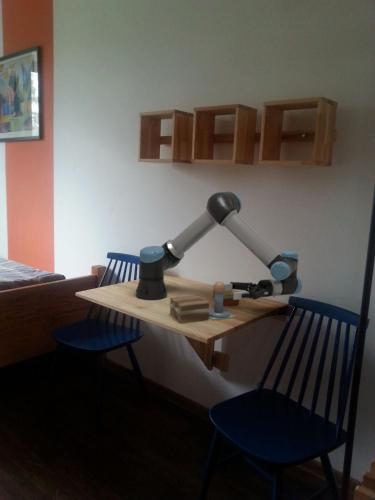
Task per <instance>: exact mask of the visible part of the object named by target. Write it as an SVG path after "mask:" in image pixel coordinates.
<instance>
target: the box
mask: <svg viewBox="0 0 375 500" xmlns="http://www.w3.org/2000/svg"><path fill="white" fill-rule="evenodd" d="M169 307H170V308H169V314H170V315H171V316H172V317H173V318H174V319H175V320H176V321H178V323H180V324H186V323H194V322H195V323H196V322H203V321H204V322H205V321H209V319H210V318H209V309H210V303H209V302H208V301H206V300H205V299H204V298H201V297H200V296H198V295H188V296H178V297H176V296H175V297H170V302H169Z"/></svg>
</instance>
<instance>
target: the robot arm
mask: <svg viewBox="0 0 375 500" xmlns="http://www.w3.org/2000/svg"><path fill="white" fill-rule="evenodd" d="M241 209H242V200H241V197H240V196H239V195H238V194H237V193H235V192H233V191H223V192H222V191H221V192H215V193H213V194H211V196H210V197H209V198H208V200H207V202H206V206H205V211H204V212H203V213H202V214H200V215H199V216H198V217H197V218H196V219H195V220H194V221H193V222H192V223H190V224H189V225H188V226H187V227H186V228H185V229H183V230H182V232H180V233H179V234H178V235H177V236H176V237H174V238H173V239H168V240H167V241H166V242H164V243H163V244H162V245H161V246H160V245H150V246H145V247H142V248H141V249H140V251H139V256H138V258H139V280H138V284H137V287H136V290H135V297H136V298H138V299H140V300H141V299H142V300H147V301H153V300H154V301H155V300H162V299H165V298H167V297H168V289H167V285H166V283H165V279H164V278H165V271H167V270H169V269H173V268H175V267H177V265H179V263H180V262H181V260H182V259H184V257H185V253H186V252H187V251H189V250H190V249H191V248H192V247H194V246H195V244H197V243H198V242H199V241H200V240H201V239H203V238H204V237H205V236H206V235H207V234H208V233H209V232H211V231H212V230H213V229H214V228H215V227H217V226H218V225H219V226H221V227H225V228H226V229H227V231H228V232H230V233H231V234H232V235H233V236H234V237H235V238H236V239H237V240H238V241H239V242H240V244H242V245H243V246H245V248H247V249H248V250H249V252H250V253H252V254H253V256H255V257H256V259H258V260H259V261H260V262H261V263H262V264H263V265H264V266H265V267H266V268H267V269H268V270H269V271H270V275H271V277H272V278H269V279H268V278H267V279H260V280H259V281H258V282H257V283H253V282H240V281H239V282H238V281H236V282H235V281H230V282H229V283H225V284H224V285H225V291H226V290H231V291H232V292H233V290H236V292H233V299H234V300H236V299H239V300H242V299H243V300H245V299H250V300H251V299H252V300H254V301H255V300H258V299H261V298H267V297H270V298H271V297H273V298H275V297H276V296H277V297H278V296H292V295H296V294H299V293H300V292H301V291H302V289H303V284H302V280H301V279H300V278H299V277H298V265H299V254H298V252H297V251H295V250H294V251H293V250H282V251H281V253H279V252H278V251H277V250H276V249H275V248H274V247H272V246H271V244H270V243H268V242H267V241H266V240H265V239H264V238H263V237H262V236H261V235H260V234H259V233H258V231H256V230H255V229H253V227H251V226H250V224H248V223H247V222H246V221H245V220H244V219H243V218H242V217H241V216H240V215H239V213H240V211H241ZM237 290H238V292H237Z"/></svg>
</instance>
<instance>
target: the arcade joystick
mask: <svg viewBox="0 0 375 500" xmlns="http://www.w3.org/2000/svg"><path fill="white" fill-rule="evenodd" d="M212 288H213V289H214V291H215V298H214V304H213V306H214V307H213V308H212V307H211V308H209V317H213V318H226V317H229V316H230V314H231V311H230V310H229V309H227V308H224V307H223V292H224V291H225V285H224V282H223V281H216V282H215V283H214V284H213V287H212Z"/></svg>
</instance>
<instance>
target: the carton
mask: <svg viewBox="0 0 375 500" xmlns="http://www.w3.org/2000/svg"><path fill="white" fill-rule="evenodd" d="M233 293H234V292H233V290H232V291H231V290H226V291H224V292H223V308H224V307H239V306H240V305H239V304H240V299H236V300H234V299H233ZM212 297H213V298H214V299H215V291H214V289H213V290H212Z"/></svg>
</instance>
